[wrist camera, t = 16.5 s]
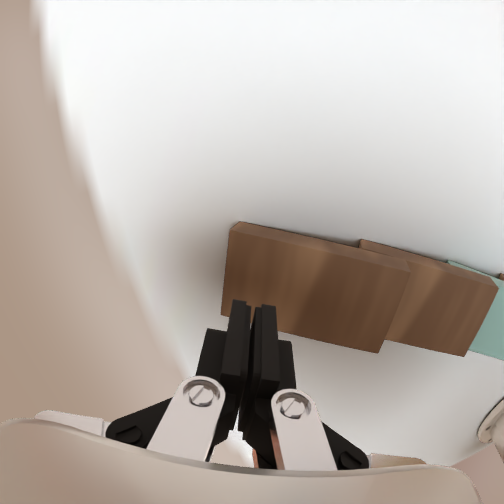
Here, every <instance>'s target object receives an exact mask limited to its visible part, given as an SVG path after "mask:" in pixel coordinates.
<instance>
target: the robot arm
mask: <svg viewBox="0 0 504 504" xmlns="http://www.w3.org/2000/svg"><path fill="white" fill-rule="evenodd" d="M246 303H247V301H242V300H236V299H233V300H232V306H231V312H230V318H229V323H228V329H227V332H226V331H220V330H215V329H209V328H207V331H206V335H205V339H204V343H203V347H202V351H201V355H200V359H199V363H198V367H197V372H196V376H193V377H190V378H187V379H185V380H184V381H182V383H181V384H180V385H179V387H178V389H177V391H176V393H175V395H174V396H173V397H172V398H170V399H167V400H165V401H162V402H160V403H157V404H155V405H153V406H150V407H148V408H145V409H143V410H140V411H137V412H135V413H132V414H130V415H127V416H124V417H122V418H119V419H117V420H115V421H113V422H104V421H103V419H101V418H94V417H86V416H80V415H74V414H68V413H63V412H57V411H53V410H45V411H42V412H39V413H38V414H37V415H36V416H35V417H34V419H32V418H31V419H30V418H17V419H10V420H7V421H4V422H3V423H1V424H0V504H483V503H482V500H481V498H480V495H479V493H478V491H477V489H476V487H475V485H474V483H473V482H472V480H471V479H470V478H469V476H467V474H465V473H464V472H462V471H460V470H458V469H455V468H451V467H447V466H442V465H431V464H426V463H425V462H424V461H422V460H421V459H418V458H411V457H400V456H390V455H382V454H375V453H371V454H370V455H366V454H365V453H364V452H363V451H361V450H360V449H359V448H357V447H356V446H355V445H353V444H352V443H350V442H349V441H348V440H346V439H345V438H343V437H342V436H341V435H339V434H338V433H336V432H335V431H334V430H332V429H331V428H330V427H328V426H327V425H326V424H324V423H323V422H322V421H321V419H320V416H319V413H318V410H317V407H316V404H315V403H314V401H313V399H312V398H311V397H310V396H309V395H308V394H306V393H304V392H303V391H300V390H297V389H296V380H295V371H294V361H293V352H292V344H291V342H290V341H284V340H278V331H277V315H276V306H272V305H266V304H261V307H255V311H254V316H253V320H252V324H251V329H250V323H251V306H249V305H246ZM238 410H239V419H238V431H241V432H243V439H242V440H246V442H247V443H248V444H249V445H250V446H251V447H252V448H253V450H252V455H253V462H254V468H249V467H240V466H231V465H223V464H216V463H210V462H211V459H212V456H213V453H214V450H215V445H217V444H219V443H221V442H223V441H224V440H226V439H227V437H228V433H229V430H233V429H234V425H235V422H236V418H237V414H238ZM478 438H479V440H480V442H482V443H489V442H492V441H493V442H494V444H495V446H496V448H497V450H498V452H499V454H500V456H501V459H502V461H503V463H504V399H503V400H502V401H501V402H500V403H499V404H498V405H497V406H496V407H495V408H494V409H493V410H492V411H491V413H490V414H489V415H488V416H487V417H486V419H485V420H484V422H483V423H482V425H481V426H480V428H479V431H478Z"/></svg>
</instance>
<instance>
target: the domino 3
mask: <svg viewBox="0 0 504 504" xmlns="http://www.w3.org/2000/svg"><path fill="white" fill-rule="evenodd" d="M447 264H450V265H453V266H457V267H460V268H463V269H466V270H470V271H473V272H476V273H479V274H482V275H485V276H488V277H490V278H491V279H492V280H493V281H494V283H495V284H496V285H497V286H498V287H499V290H498V292H497V294H496V296H495V299H494V301H493V303H492V305H491V307H490V309H489V311H488V313H487V315H486V317H485V319H484V321H483V323H482V325H481V327H480V329H479V331H478V333H477V335H476V336H475V338H474V340H473V342H472V344H471V345H470V347H469V349H468V350H470V351H473V352H477V353H480V354H484V355H487V356H491V357H494V358H498V359H501V360H504V281H502V280H500V279H497V278H495V277H492V276H490V275H487V274H485V273H482V272H479V271H477V270H474V269H471V268H469V267H466V266H463V265H461V264H458V263H455V262H453V261H450V260H448V261H447Z"/></svg>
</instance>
